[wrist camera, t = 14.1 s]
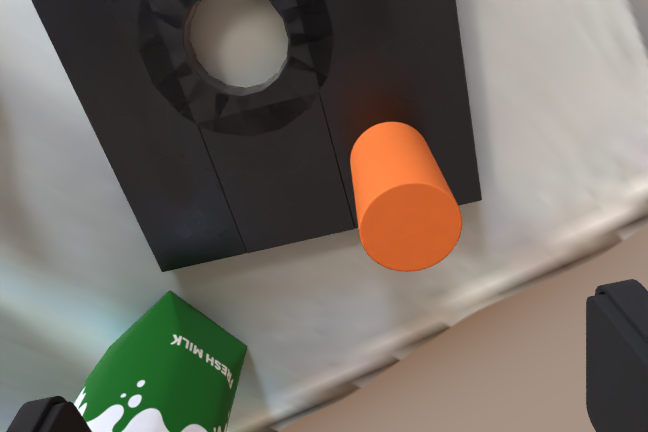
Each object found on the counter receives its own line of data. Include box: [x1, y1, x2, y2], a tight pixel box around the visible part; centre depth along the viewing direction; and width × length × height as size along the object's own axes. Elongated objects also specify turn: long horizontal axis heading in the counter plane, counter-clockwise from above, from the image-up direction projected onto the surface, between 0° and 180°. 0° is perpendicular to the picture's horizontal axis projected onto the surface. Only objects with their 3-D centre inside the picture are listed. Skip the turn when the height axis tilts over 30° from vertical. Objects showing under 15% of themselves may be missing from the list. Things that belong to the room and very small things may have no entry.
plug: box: [350, 122, 462, 272], centre depth 26 cm, size 4×4×8 cm
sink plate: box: [32, 0, 482, 272], centre depth 29 cm, size 20×18×2 cm
